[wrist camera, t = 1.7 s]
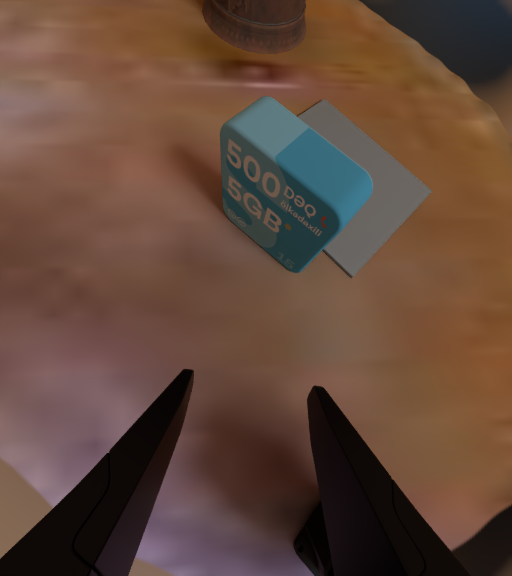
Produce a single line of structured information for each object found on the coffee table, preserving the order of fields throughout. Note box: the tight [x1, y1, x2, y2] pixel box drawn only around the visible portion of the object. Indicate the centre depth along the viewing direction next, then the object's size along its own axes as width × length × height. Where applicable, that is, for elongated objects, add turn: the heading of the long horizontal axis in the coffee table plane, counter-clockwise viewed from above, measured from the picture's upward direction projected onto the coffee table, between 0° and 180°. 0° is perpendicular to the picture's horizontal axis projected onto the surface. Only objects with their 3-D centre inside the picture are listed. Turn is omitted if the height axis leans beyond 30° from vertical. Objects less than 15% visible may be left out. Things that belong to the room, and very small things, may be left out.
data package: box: [220, 96, 373, 273], centre depth 21 cm, size 12×4×12 cm, turn 49°
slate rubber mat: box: [298, 99, 432, 278], centre depth 30 cm, size 22×20×1 cm
